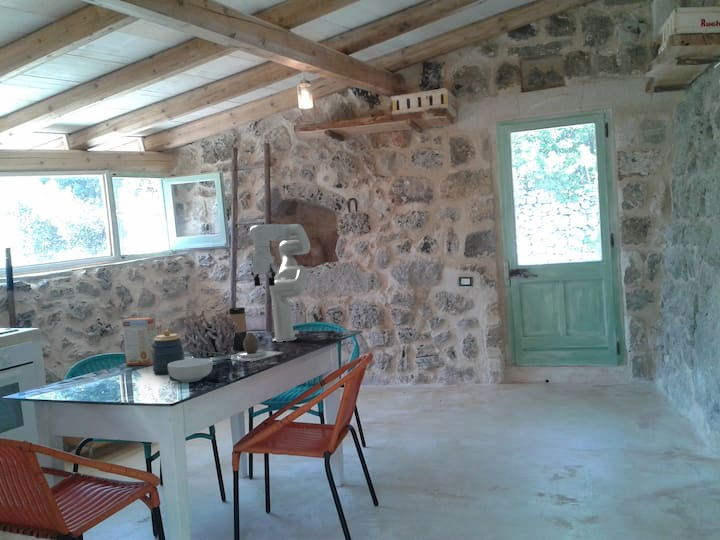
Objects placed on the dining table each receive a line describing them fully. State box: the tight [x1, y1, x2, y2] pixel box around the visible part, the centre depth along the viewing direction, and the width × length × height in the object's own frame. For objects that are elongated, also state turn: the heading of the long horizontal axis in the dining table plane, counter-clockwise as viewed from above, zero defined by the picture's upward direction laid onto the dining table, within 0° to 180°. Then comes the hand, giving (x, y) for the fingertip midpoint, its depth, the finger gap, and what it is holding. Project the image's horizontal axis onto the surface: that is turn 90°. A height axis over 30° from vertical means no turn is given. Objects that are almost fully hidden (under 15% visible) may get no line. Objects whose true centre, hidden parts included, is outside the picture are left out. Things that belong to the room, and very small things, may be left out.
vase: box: [243, 332, 260, 353], centre depth 292 cm, size 7×7×9 cm
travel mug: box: [228, 307, 248, 351], centre depth 315 cm, size 8×8×20 cm
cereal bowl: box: [168, 358, 214, 383], centre depth 249 cm, size 17×17×7 cm
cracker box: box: [122, 317, 157, 367], centre depth 290 cm, size 14×6×21 cm, turn 65°
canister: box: [151, 329, 186, 376], centre depth 268 cm, size 13×13×18 cm
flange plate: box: [230, 349, 284, 363], centre depth 292 cm, size 20×20×2 cm
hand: (264, 285), depth 312 cm, fingers open, 9 cm apart
